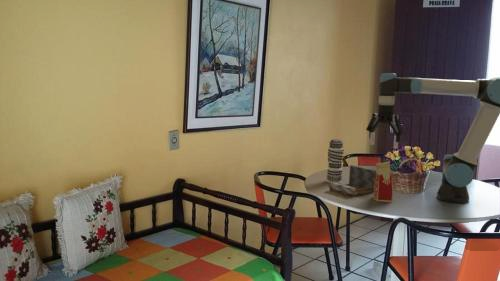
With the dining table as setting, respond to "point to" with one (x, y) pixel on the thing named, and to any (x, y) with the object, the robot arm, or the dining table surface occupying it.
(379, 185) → the milk carton
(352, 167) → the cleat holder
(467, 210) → the dining table surface
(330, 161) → the decorative candle
